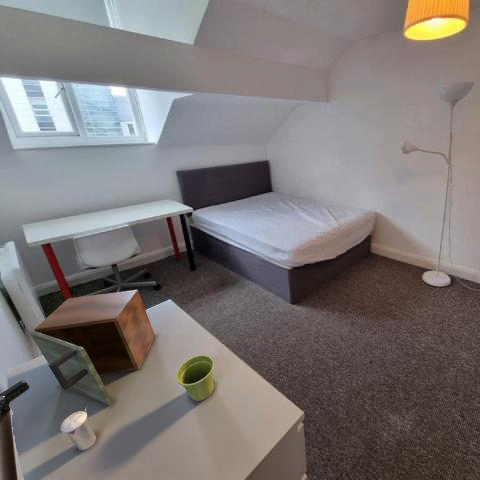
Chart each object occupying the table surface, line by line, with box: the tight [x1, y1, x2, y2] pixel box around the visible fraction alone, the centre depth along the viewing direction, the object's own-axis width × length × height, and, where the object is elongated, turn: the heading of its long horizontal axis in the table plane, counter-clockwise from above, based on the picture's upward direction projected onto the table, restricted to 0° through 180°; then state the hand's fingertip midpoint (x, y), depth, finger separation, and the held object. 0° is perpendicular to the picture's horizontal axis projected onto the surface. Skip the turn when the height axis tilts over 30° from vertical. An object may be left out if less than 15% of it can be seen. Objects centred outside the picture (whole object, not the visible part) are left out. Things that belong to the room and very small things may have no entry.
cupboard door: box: [29, 330, 113, 406], centre depth 69 cm, size 6×20×20 cm, turn 71°
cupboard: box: [33, 289, 156, 377], centre depth 83 cm, size 14×20×20 cm
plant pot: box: [175, 354, 215, 402], centre depth 73 cm, size 9×9×9 cm
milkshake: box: [60, 403, 97, 451], centre depth 62 cm, size 4×5×10 cm
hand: (26, 384), depth 63 cm, fingers closed
